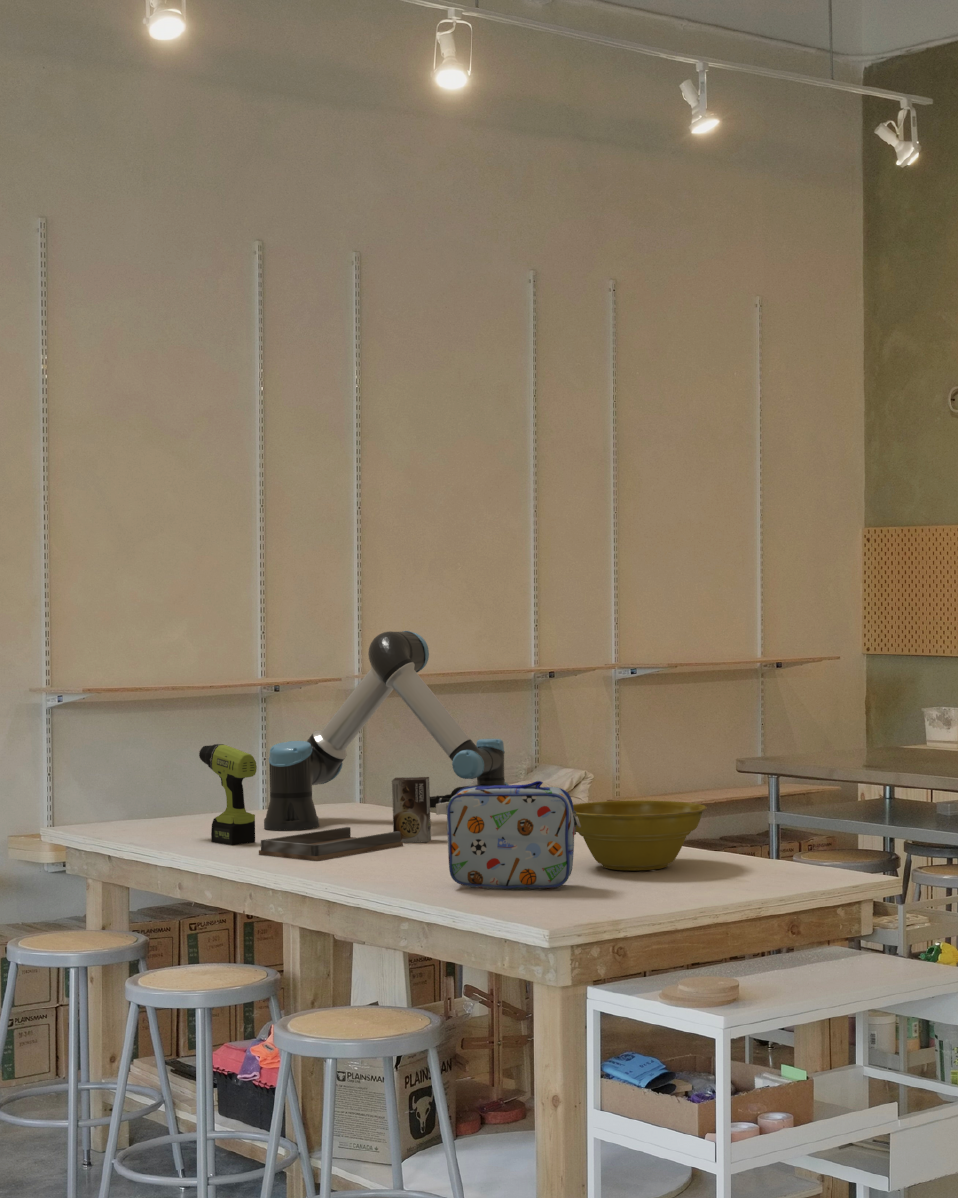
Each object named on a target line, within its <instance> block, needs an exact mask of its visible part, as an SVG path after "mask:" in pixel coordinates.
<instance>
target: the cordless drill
mask: <svg viewBox="0 0 958 1198" xmlns="http://www.w3.org/2000/svg"><path fill="white" fill-rule="evenodd" d="M198 752H199V753H198V757H199V758H200V760H201V761H202V762H203V763H204V764H205V765H207V767H208V768H209V769H210V770H211V771H213V772H214V773H215V774H216V775H217V776H218V777H219V778H220V783H221V786H222V787H223V788H224V790H225V795H226V796H225V797H226V807H225V809H224V811H223V812H222V813H220V814H218V815H217V816H215V817H214V818H213V820H212V822H211V831H210V832H211V833H210V835H211V836H210V838H211V840H210V841H211V843H215V844H222V845H229V846H238V845H244V844H246V845H247V844H252V843H256V814H253V813H252V812H247V809H246V807H245V794H244V785H243V780H244V779H245V778H251V777H254V776H255V775H256V773H257V770H258V769H257V768H258V767H257V762H256V759H255V757H254V756H253V755H252V754H250V753H248V752H245V751H243V750H240V749H237V748H236V747H232V746H230V745H228V744H227V745H226V744H223V743H216V744H212V745H211V744H210V745H204V746H203V747H201V748H200V750H199V751H198Z"/></svg>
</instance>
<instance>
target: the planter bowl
mask: <svg viewBox="0 0 958 1198" xmlns="http://www.w3.org/2000/svg"><path fill="white" fill-rule="evenodd" d="M573 809H574V811H576V816H577V817H578V819H579V822H580V825H581V827H578V825H576V833H578V835H580V836H581V837H582V838H583V840H584V842H585V845H586V846H587V848H588V850H589V852H590V854H591V855H592V857H593V859H594V860H595V861H596V863H598V864H600V865H602V867H603V868H606V869H608V870H617V871H623V872H624V871H651V870H652V871H653V870H660V869H664V868H667V867H668V866H669V865H670V864H671V863H674V861H675V860H676V858H677V857H678V856H679V853H680V851H681V849H682V847H683V845H684V843H685V840H686V837H687V836H689V835H690V834H691V833H692V832H693V831H695V830H696V829H697V828H698V826H699V823H700V821H701V819H702V815H703V812H704V811H705V810H707V809H708V807H707V806H706V805H704V804H700V803H695V802H688V801H687V802H686V801H675V800H674V801H673V800H641V799H640V800H610V801H608V800H607V801H593V802H591V801H590V802H581V803H576V804H575V803H573Z"/></svg>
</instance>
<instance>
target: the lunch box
mask: <svg viewBox="0 0 958 1198" xmlns="http://www.w3.org/2000/svg"><path fill="white" fill-rule="evenodd" d="M543 783H544V782H543V781H541V780H537V781H534V782H531V783H526V784H509V785H494V786H470V787H466V788H463V789H461V790H459V791H458V792H457V793H456V794H455V795H454V796H453V797H452V798H451V799H450V801H449V803H448V806H447V813H446V825H447V829H446V831H447V852H448V856H447V857H448V870H449V875H450V877H451V879H452V880H453V881H454V883H457V884H458V885H461V886H464V887H469V888H478V889H479V888H480V889H496V890H497V889H498V890H503V889H504V890H509V889H511V890H513V889H516V890H517V889H518V890H521V889H522V890H532V889H533V890H535V889H547V888H551V889H552V888H558V887H561V886H564V884H565V883H566V882H567V881H568V880H569V877H570V876H571V874H572V871H573V866H574V851H575V835H577V832H576V825H578V827H581V825H580V822H579V819H578V817H577V816H576V811H574V809H573V805H574V803H573V800H572V797H571V795H570V793H568V791H567V790H565V789H563V788H561V787H553V786H542V784H543Z"/></svg>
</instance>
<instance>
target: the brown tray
mask: <svg viewBox="0 0 958 1198" xmlns="http://www.w3.org/2000/svg"><path fill="white" fill-rule="evenodd" d="M351 832H352V831H351V827H349V826H344V827H338V828H332V829H326V830H320V831H313V832H312V831H311V832H307V833H298V834H294V835H293V834H292V835H287V836H285V835H284V836H280V837H274V838H273V837H272V838H267V839H261V840H260V849H259V850H258V855H261V856H269V857H270V856H271V857H280V858H288V859H296V860H297V859H298V860H307V861H314V862H315V861H316V862H318V861H323V860H324V861H325V860H329V859H330V860H331V859H335V858H342V857H346V856H347V857H348V856H353V855H358V854H365V853H371V852H376V851H381V850H388V849H393V848H399V847H404V843H403V842H401V838H400V832H399V831H396V832H393V831H392V832H391V831H390V832H384V833H379V834H371V835H365V836H360V837H355V836H354V837H353V836H351Z"/></svg>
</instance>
